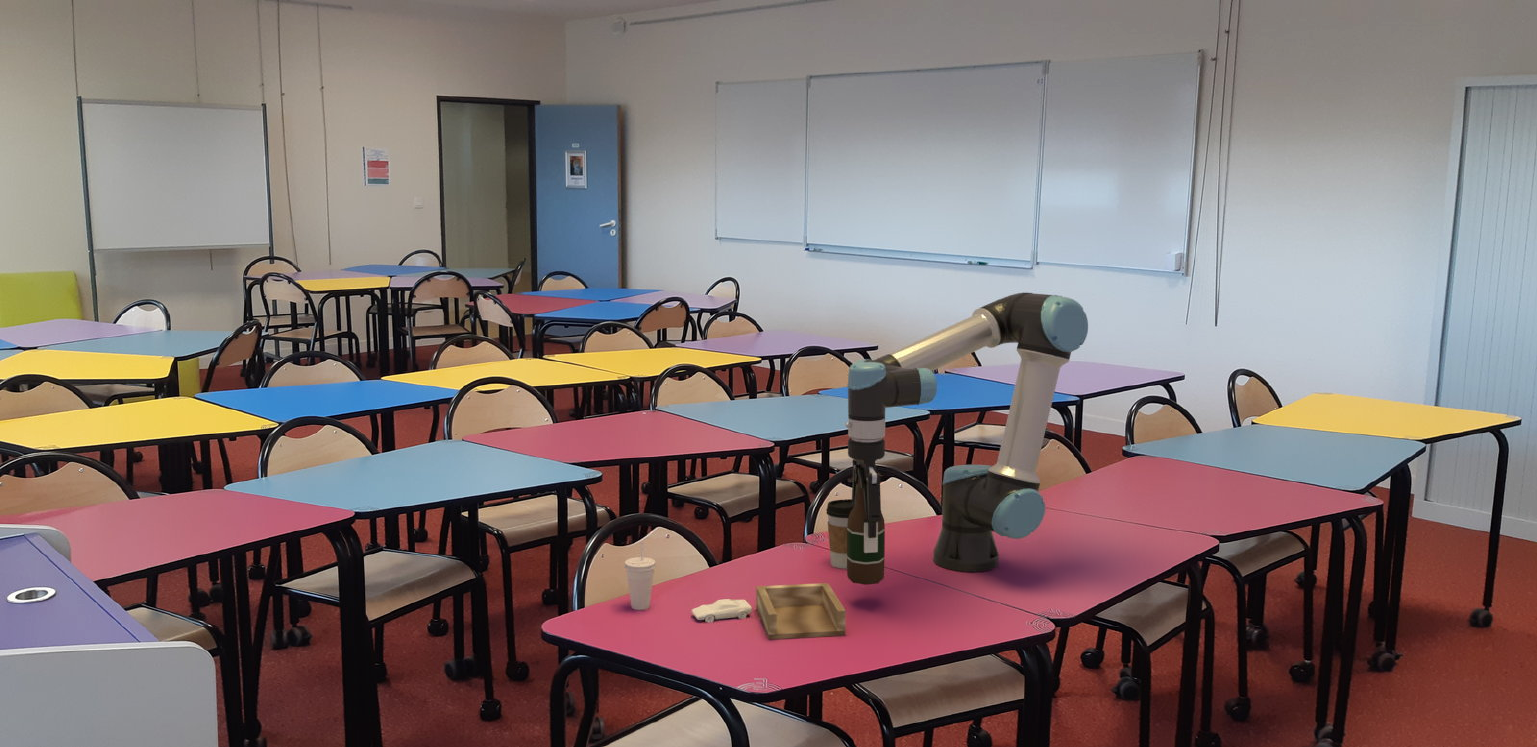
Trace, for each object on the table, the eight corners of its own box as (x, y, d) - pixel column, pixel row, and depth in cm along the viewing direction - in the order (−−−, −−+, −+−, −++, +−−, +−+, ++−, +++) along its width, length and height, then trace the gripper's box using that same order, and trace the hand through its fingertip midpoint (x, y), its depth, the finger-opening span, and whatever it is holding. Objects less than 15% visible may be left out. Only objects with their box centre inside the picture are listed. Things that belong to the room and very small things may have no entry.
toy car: (689, 615, 223) (689, 600, 222) (745, 609, 227) (745, 593, 226) (697, 625, 218) (697, 609, 217) (754, 618, 222) (754, 602, 221)
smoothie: (662, 606, 227) (662, 541, 225) (638, 614, 222) (638, 548, 220) (642, 598, 231) (641, 534, 229) (618, 606, 227) (617, 541, 224)
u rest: (827, 606, 228) (827, 582, 227) (845, 635, 212) (845, 610, 212) (756, 609, 226) (756, 586, 225) (768, 639, 210) (769, 614, 209)
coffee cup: (862, 570, 251) (864, 507, 249) (826, 570, 251) (827, 506, 249) (860, 559, 259) (861, 497, 257) (824, 558, 259) (825, 497, 257)
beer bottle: (884, 573, 232) (885, 462, 228) (884, 585, 224) (885, 471, 221) (847, 572, 233) (847, 462, 229) (846, 584, 225) (846, 471, 222)
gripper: (837, 428, 233) (837, 532, 237) (860, 450, 213) (860, 562, 217) (871, 427, 235) (870, 530, 238) (897, 448, 215) (896, 560, 218)
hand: (865, 545), depth 228 cm, fingers closed on beer bottle, 7 cm apart
